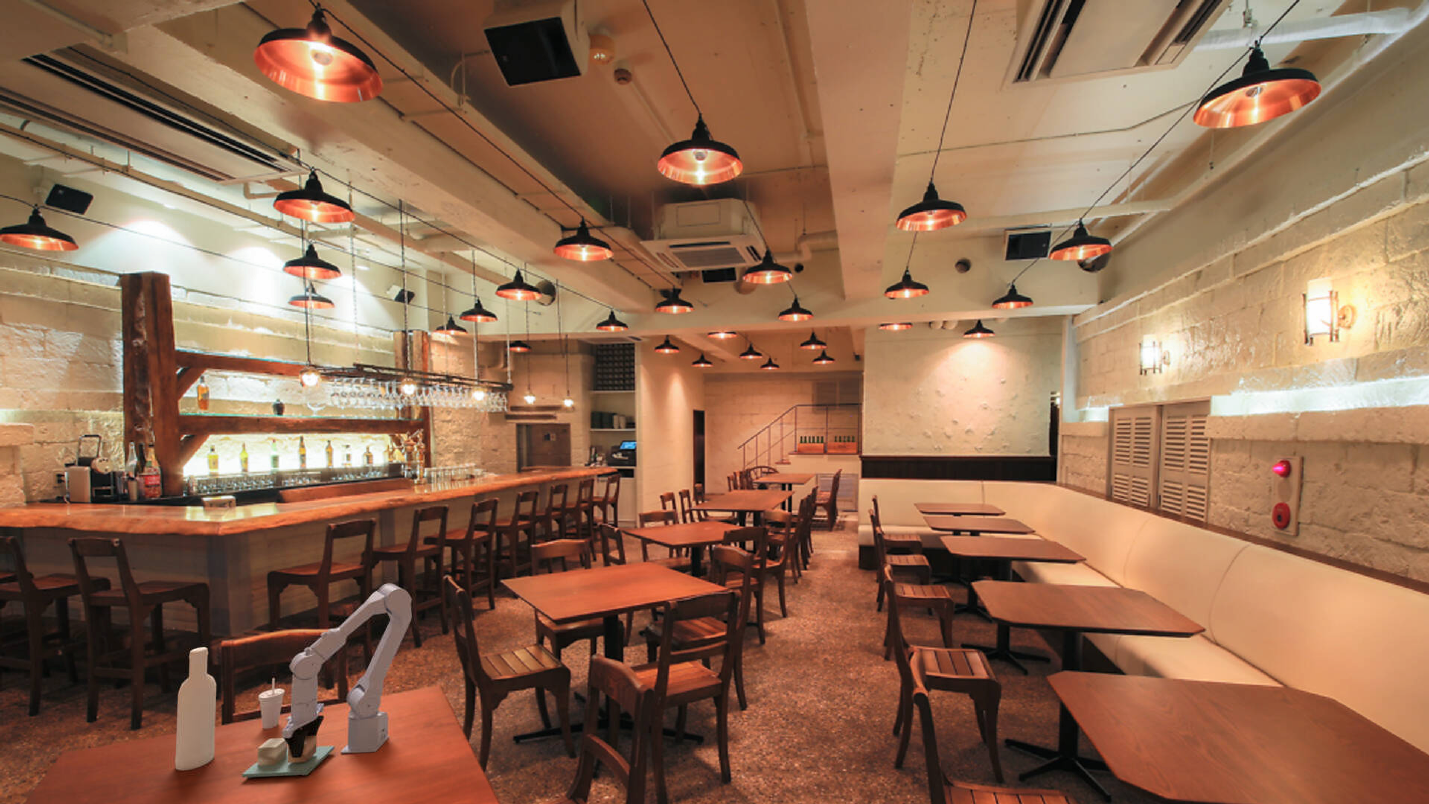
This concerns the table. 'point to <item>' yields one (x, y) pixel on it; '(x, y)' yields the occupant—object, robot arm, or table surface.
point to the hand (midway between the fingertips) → (303, 751)
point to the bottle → (196, 715)
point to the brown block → (305, 750)
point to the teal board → (289, 765)
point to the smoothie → (271, 706)
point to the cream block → (272, 751)
